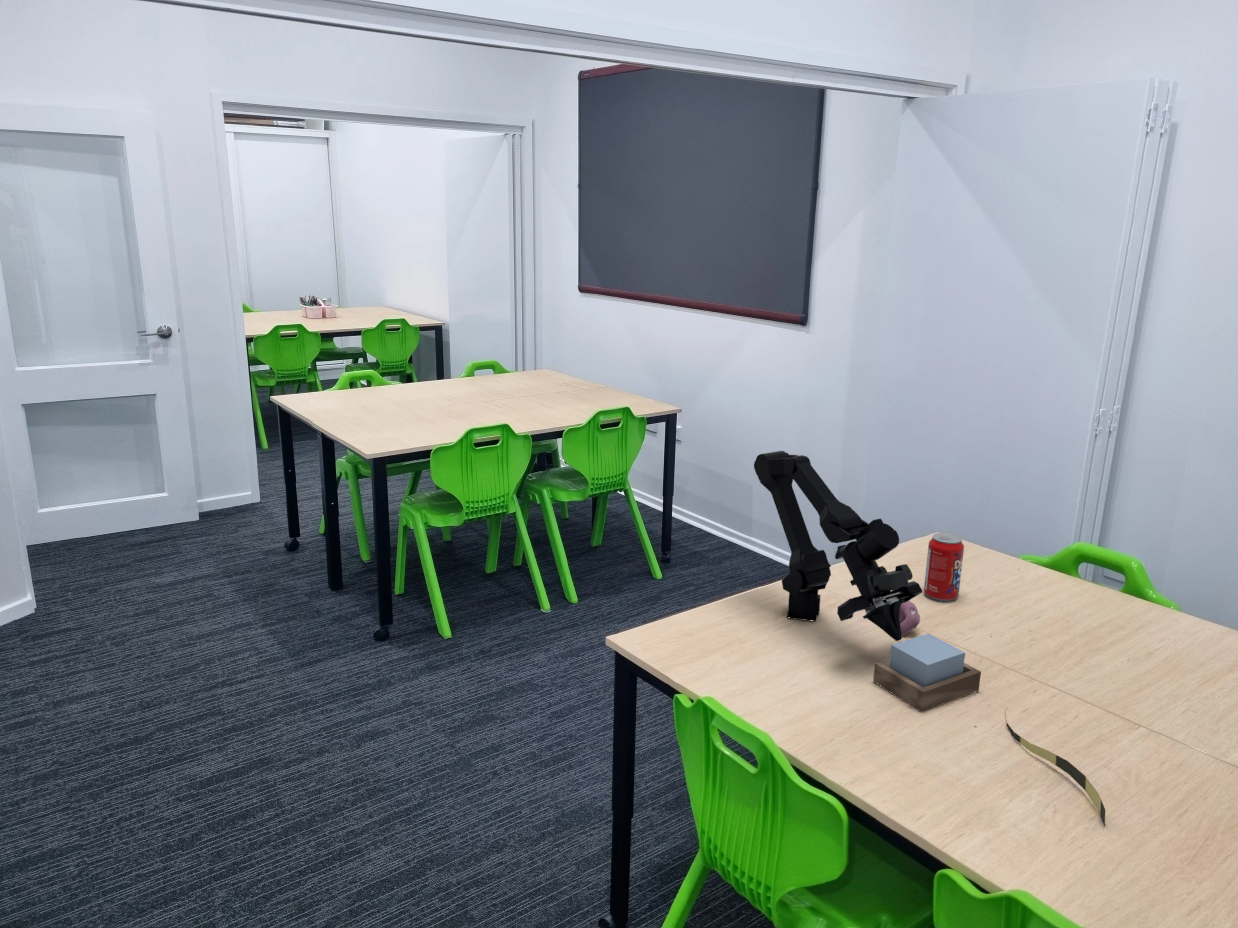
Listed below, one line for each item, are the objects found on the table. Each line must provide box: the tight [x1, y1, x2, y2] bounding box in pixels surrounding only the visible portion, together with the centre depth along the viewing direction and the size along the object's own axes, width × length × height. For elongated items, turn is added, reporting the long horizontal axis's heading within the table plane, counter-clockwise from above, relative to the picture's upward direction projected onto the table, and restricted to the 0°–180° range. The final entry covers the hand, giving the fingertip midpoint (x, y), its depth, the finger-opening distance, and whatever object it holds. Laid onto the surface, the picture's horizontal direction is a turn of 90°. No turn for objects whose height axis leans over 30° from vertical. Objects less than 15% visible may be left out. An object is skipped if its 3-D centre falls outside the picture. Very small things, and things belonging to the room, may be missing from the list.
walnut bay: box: [872, 661, 982, 712], centre depth 171 cm, size 12×15×4 cm
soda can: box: [923, 532, 965, 602], centre depth 209 cm, size 8×8×15 cm
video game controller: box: [899, 600, 921, 636], centre depth 195 cm, size 10×5×7 cm, turn 179°
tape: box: [1004, 709, 1106, 827], centre depth 150 cm, size 6×38×4 cm, turn 176°
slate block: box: [888, 633, 966, 688], centre depth 171 cm, size 9×10×8 cm
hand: (899, 640), depth 176 cm, fingers closed
